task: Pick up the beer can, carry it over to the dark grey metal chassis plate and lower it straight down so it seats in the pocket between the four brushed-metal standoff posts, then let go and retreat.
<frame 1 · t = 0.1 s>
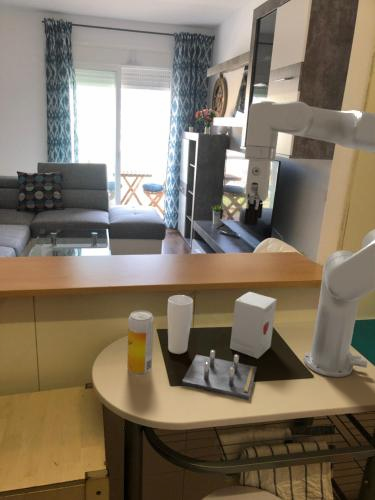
hand: (253, 221, 109), 37 cm above the kitchen counter, tool pointing down, fingers open, 9 cm apart
chassis: (220, 377, 104), on the kitchen counter
supplement box: (250, 348, 119), on the kitchen counter
beer can: (139, 370, 105), on the kitchen counter
drinking glass: (177, 350, 116), on the kitchen counter
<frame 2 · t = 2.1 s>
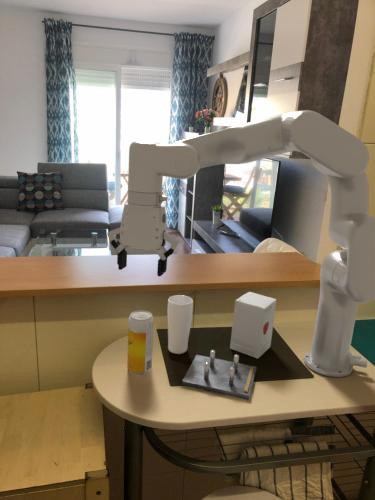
hand: (141, 271, 98), 26 cm above the kitchen counter, tool pointing down, fingers open, 9 cm apart
nothing on the kitchen counter moved.
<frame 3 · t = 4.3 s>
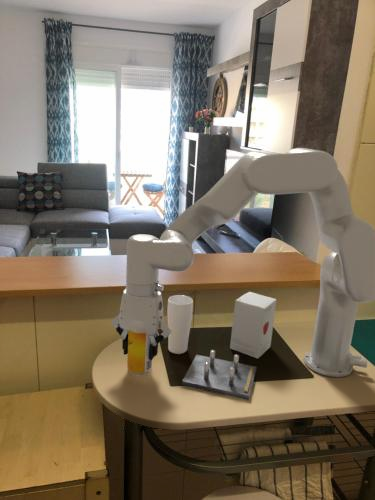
hand: (139, 354, 104), 4 cm above the kitchen counter, tool pointing down, fingers closed on beer can, 6 cm apart
beer can: (139, 370, 105), on the kitchen counter, touching gripper
everything else where it was.
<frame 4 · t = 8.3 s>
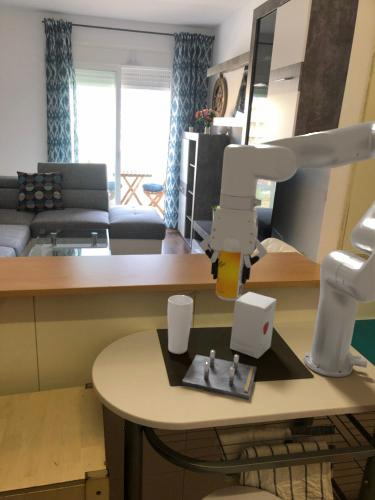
hand: (229, 279, 97), 26 cm above the kitchen counter, tool pointing down, fingers closed on beer can, 6 cm apart
beer can: (228, 297, 98), point 22 cm above the kitchen counter, touching gripper
everything else where it was.
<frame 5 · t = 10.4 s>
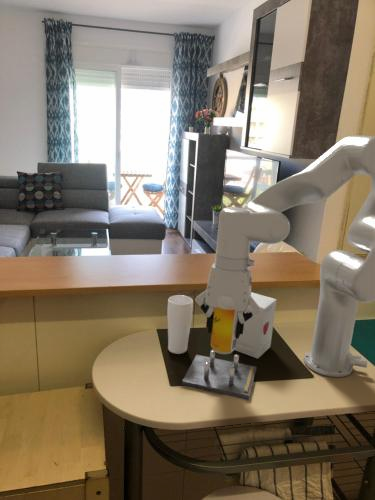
hand: (224, 332, 100), 12 cm above the kitchen counter, tool pointing down, fingers closed on beer can, 6 cm apart
beer can: (222, 349, 102), point 8 cm above the kitchen counter, touching gripper
everything else where it was.
when the fingers open (6 cm above the kitchen counter, at t = 12.2 s): beer can stays where it is, resting on chassis.
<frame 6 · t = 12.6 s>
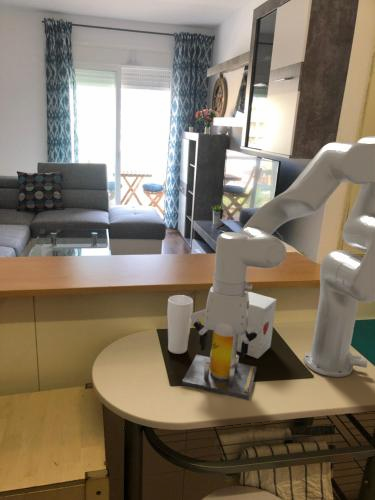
hand: (222, 351, 102), 7 cm above the kitchen counter, tool pointing down, fingers open, 9 cm apart
beer can: (221, 374, 104), point 1 cm above the kitchen counter, touching chassis
everything else where it was.
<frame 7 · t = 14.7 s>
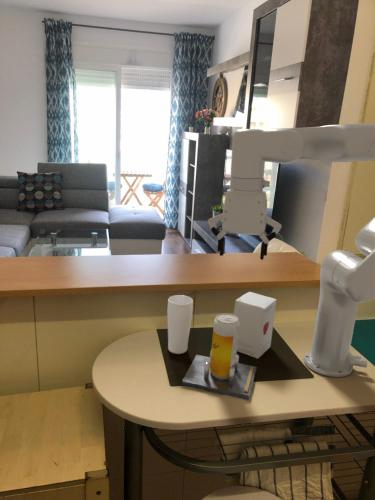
hand: (241, 256, 101), 30 cm above the kitchen counter, tool pointing down, fingers open, 9 cm apart
nothing on the kitchen counter moved.
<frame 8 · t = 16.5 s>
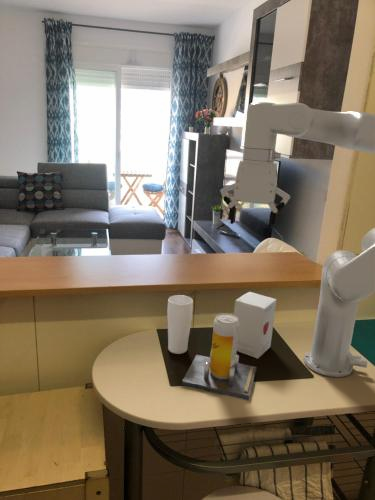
hand: (251, 225, 106), 36 cm above the kitchen counter, tool pointing down, fingers open, 9 cm apart
nothing on the kitchen counter moved.
at the end: beer can 0.3 cm off-centre on the chassis, point 1.0 cm above the chassis's base; beer can tilted 0°; the gripper is holding nothing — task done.
